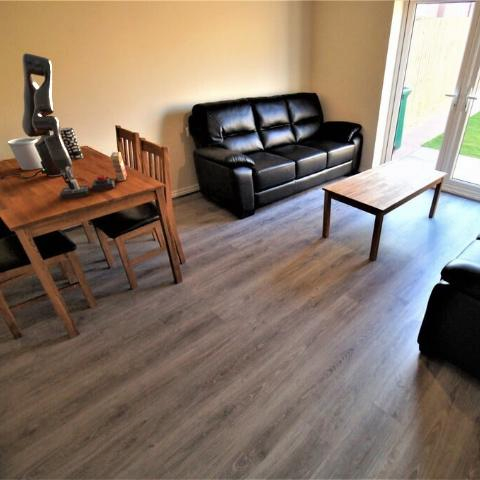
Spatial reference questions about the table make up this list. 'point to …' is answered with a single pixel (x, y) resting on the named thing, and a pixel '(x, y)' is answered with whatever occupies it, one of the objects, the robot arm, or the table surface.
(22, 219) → the table surface
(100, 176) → the power button
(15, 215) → the table surface
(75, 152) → the spotted tube
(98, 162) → the table surface
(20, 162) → the utensil holder
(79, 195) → the dial panel
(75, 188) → the dial
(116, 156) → the candy box
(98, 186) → the button housing
